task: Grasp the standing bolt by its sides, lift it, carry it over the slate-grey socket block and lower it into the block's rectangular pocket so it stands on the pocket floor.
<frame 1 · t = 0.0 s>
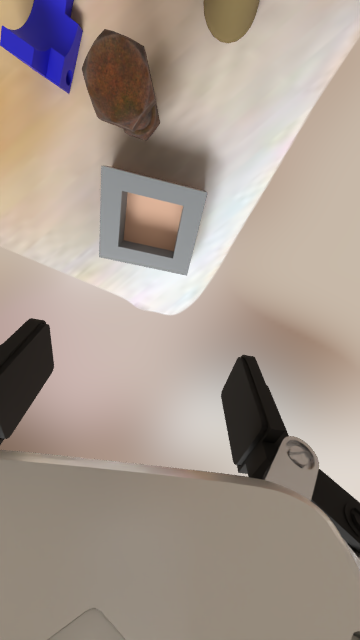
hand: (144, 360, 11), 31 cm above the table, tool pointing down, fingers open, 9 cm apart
socket block: (152, 221, 37), on the table
bolt: (144, 122, 30), on the table
cable clip: (64, 17, 26), on the table
cork: (230, 3, 25), on the table
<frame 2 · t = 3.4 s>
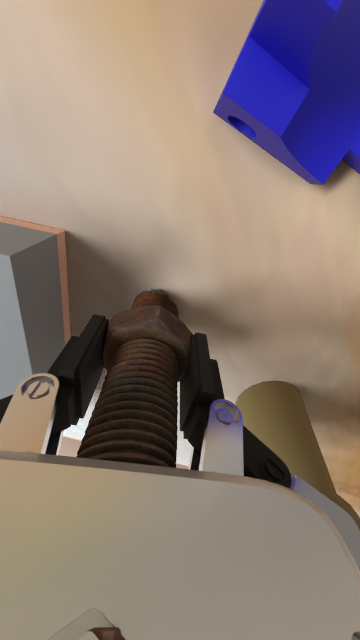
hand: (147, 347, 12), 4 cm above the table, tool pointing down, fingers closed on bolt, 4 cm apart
bolt: (156, 306, 16), on the table, touching gripper
cable clip: (340, 135, 11), on the table
cork: (266, 401, 22), on the table
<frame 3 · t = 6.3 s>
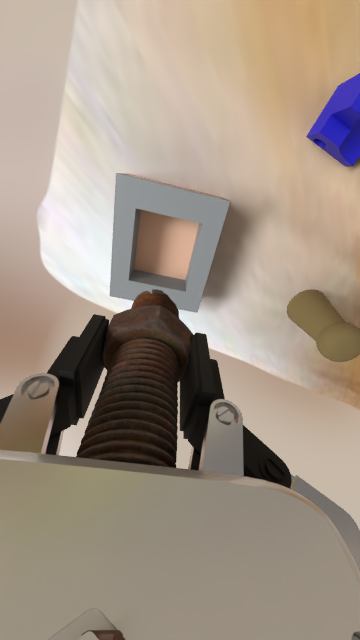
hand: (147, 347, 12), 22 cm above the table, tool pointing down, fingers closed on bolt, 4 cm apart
socket block: (165, 243, 31), on the table
bolt: (156, 306, 16), point 18 cm above the table, touching gripper
cable clip: (359, 144, 26), on the table
cork: (305, 306, 37), on the table
when the fingers open (7 cm above the table, at t = 9.1 s): bolt drops 1 cm, resting on socket block.
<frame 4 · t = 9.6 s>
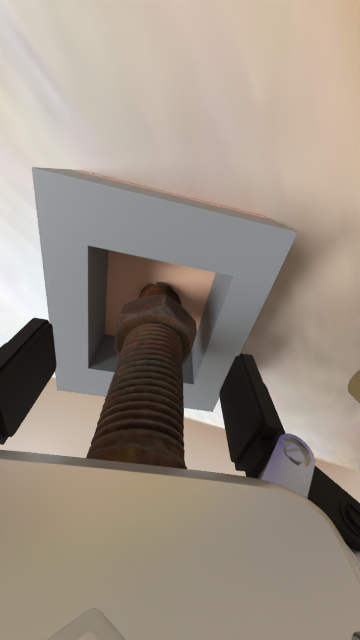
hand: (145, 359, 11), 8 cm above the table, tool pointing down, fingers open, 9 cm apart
socket block: (157, 292, 18), on the table
bolt: (160, 298, 17), point 1 cm above the table, touching socket block
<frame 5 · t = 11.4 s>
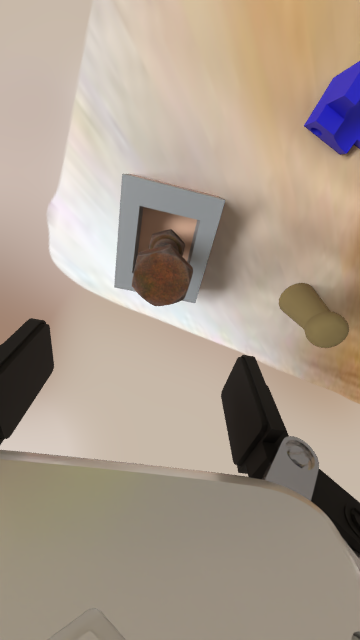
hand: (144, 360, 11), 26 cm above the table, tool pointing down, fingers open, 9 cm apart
socket block: (166, 239, 33), on the table
bolt: (167, 241, 33), point 1 cm above the table, touching socket block
cable clip: (352, 134, 27), on the table
cork: (296, 298, 39), on the table
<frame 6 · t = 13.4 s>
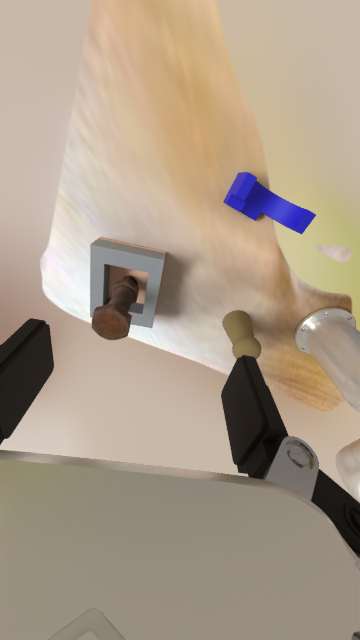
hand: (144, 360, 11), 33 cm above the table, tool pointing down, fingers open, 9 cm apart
socket block: (129, 279, 44), on the table
bolt: (130, 281, 44), point 1 cm above the table, touching socket block
cable clip: (260, 205, 38), on the table
cork: (235, 321, 50), on the table
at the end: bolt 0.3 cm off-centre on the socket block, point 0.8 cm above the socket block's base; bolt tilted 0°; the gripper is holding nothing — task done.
